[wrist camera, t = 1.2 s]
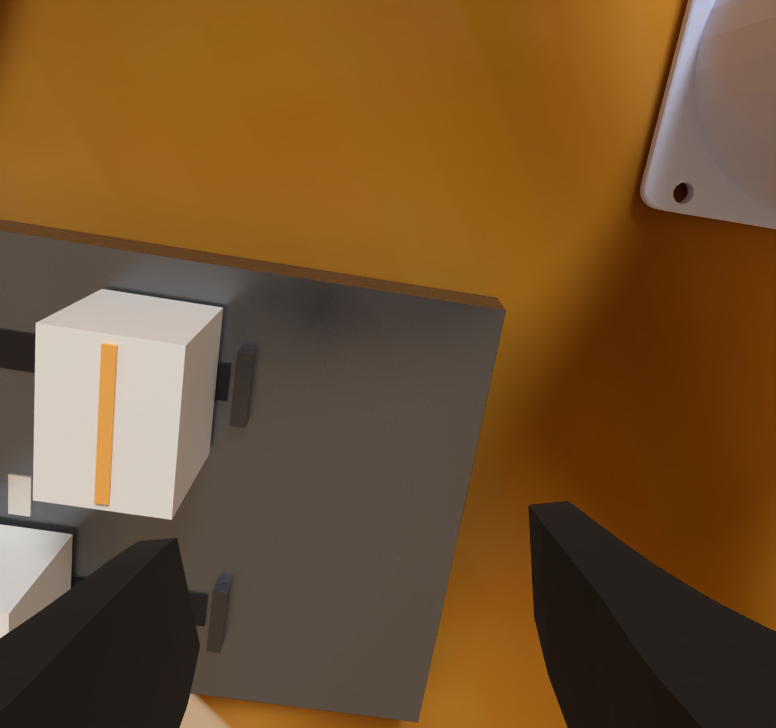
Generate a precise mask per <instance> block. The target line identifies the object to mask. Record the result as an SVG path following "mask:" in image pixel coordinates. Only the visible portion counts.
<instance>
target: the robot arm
mask: <svg viewBox="0 0 776 728" xmlns="http://www.w3.org/2000/svg"><path fill="white" fill-rule="evenodd" d="M680 183H685V184H686V186H687V188H688V194H687V196H686V198H685V199H684V200H682V201H681V202H676V201H675V199H674V197H673V191H674V189H675V187H676V186H677V185H679V184H680ZM640 195H641V198H642V201H643V202H644V203H645V204H646V205H647V206H649V207H651V208H654V209H658V210H663V211H669V212H675V213H681V214H687V215H693V216H699V217H705V218H711V219H718V220H724V221H730V222H736V223H742V224H748V225H754V226H760V227H766V228H772V229H776V0H688V3H687V7H686V11H685V14H684V18H683V22H682V26H681V30H680V34H679V38H678V42H677V46H676V50H675V53H674V57H673V61H672V65H671V69H670V73H669V77H668V81H667V85H666V89H665V93H664V96H663V100H662V104H661V108H660V112H659V116H658V120H657V124H656V128H655V132H654V135H653V139H652V143H651V147H650V151H649V155H648V159H647V163H646V167H645V171H644V175H643V178H642V182H641V187H640ZM529 524H530V544H531V563H532V583H533V603H534V618H535V622H536V626H537V631H538V635H539V639H540V643H541V648H542V652H543V656H544V660H545V664H546V668H547V672H548V675H549V678H550V681H551V684H552V686H553V689H554V692H555V695H556V697H557V700H558V703H559V705H560V708H561V711H562V713H563V716H564V719H565V721H566V724H567V727H568V728H776V631H773V630H771V629H769V628H767V627H765V626H763V625H761V624H759V623H757V622H755V621H753V620H751V619H749V618H747V617H745V616H743V615H741V614H739V613H737V612H735V611H733V610H731V609H729V608H727V607H725V606H723V605H721V604H719V603H718V602H716V601H714V600H712V599H710V598H709V597H707V596H705V595H703V594H702V593H700V592H698V591H697V590H695V589H693V588H692V587H690V586H688V585H687V584H685V583H683V582H682V581H680V580H679V579H677V578H675V577H674V576H672V575H670V574H669V573H667V572H666V571H664V570H663V569H661V568H660V567H658V566H656V565H655V564H653V563H652V562H650V561H649V560H647V559H646V558H645V557H643V556H642V555H640V554H639V553H637V552H636V551H635V550H633V549H632V548H630V547H629V546H627V545H626V544H625V543H623V542H622V541H621V540H619V539H618V538H616V537H615V536H614V535H612V534H611V533H610V532H608V531H607V530H606V529H604V528H603V527H602V526H600V525H599V524H598V523H596V522H595V521H594V520H592V519H591V518H590V517H589V516H587V515H586V514H585V513H583V512H582V511H581V510H579V509H578V508H577V507H575V506H574V505H573V504H571V503H570V502H568V501H565V502H554V503H543V504H533V505H529ZM199 650H200V642H199V638H198V633H197V628H196V623H195V619H194V614H193V609H192V605H191V600H190V595H189V591H188V586H187V581H186V577H185V572H184V567H183V563H182V558H181V553H180V549H179V544H178V539H177V538H166V539H155V540H145V541H139V542H137V543H135V544H133V545H132V546H130V547H128V548H127V549H125V550H124V551H122V552H121V553H119V554H118V555H116V556H115V557H114V558H112V559H111V560H109V561H108V562H106V563H105V564H104V565H102V566H101V567H100V568H98V569H97V570H96V571H94V572H93V573H91V574H90V575H89V576H87V577H86V578H85V579H83V580H82V581H81V582H79V583H78V584H76V585H75V586H74V587H72V588H71V589H70V590H68V591H67V592H66V593H64V594H63V595H61V596H60V597H59V598H57V599H56V600H55V601H53V602H52V603H50V604H49V605H48V606H46V607H45V608H44V609H42V610H41V611H39V612H38V613H37V614H35V615H34V616H32V617H31V618H29V619H28V620H26V621H25V622H23V623H22V624H20V625H19V626H17V627H16V628H15V629H13V630H12V631H10V632H9V633H7V634H6V635H4V636H3V637H1V638H0V728H179V727H180V725H181V721H182V719H183V716H184V713H185V710H186V707H187V704H188V700H189V696H190V691H191V687H192V683H193V679H194V674H195V669H196V664H197V660H198V655H199Z"/></svg>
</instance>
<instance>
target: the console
mask: <svg viewBox="0 0 776 728" xmlns="http://www.w3.org/2000/svg"><path fill="white" fill-rule="evenodd" d="M101 289H106V290H112V291H119V292H125V293H131V294H138V295H144V296H151V297H157V298H164V299H170V300H177V301H183V302H190V303H196V304H203V305H209V306H216V307H222V308H223V315H222V326H221V336H220V347H219V357H218V368H217V379H216V389H215V400H214V410H213V421H212V431H211V442H210V452H209V455H208V457H207V459H206V460H205V462H204V464H203V466H202V467H201V469H200V471H199V473H198V474H197V476H196V478H195V480H194V482H193V483H192V485H191V487H190V489H189V490H188V492H187V494H186V496H185V497H184V499H183V501H182V503H181V504H180V506H179V508H178V510H177V511H176V513H175V515H174V517H173V518H172V520H169V519H162V518H155V517H148V516H141V515H134V514H126V513H119V512H112V511H105V510H98V509H91V508H83V507H76V506H69V505H62V504H55V503H48V502H40V501H33V458H34V397H35V336H36V323H37V322H38V321H40V320H42V319H44V318H46V317H48V316H50V315H52V314H54V313H56V312H58V311H60V310H62V309H64V308H66V307H68V306H70V305H72V304H73V303H75V302H77V301H79V300H81V299H83V298H85V297H87V296H89V295H91V294H93V293H95V292H97V291H99V290H101ZM505 312H506V310H505V309H504V307H503V306H502V304H501V303H500V302H499V300H498V299H497V298H493V297H487V296H480V295H474V294H468V293H461V292H455V291H449V290H442V289H436V288H430V287H423V286H417V285H411V284H404V283H398V282H392V281H385V280H379V279H373V278H367V277H360V276H354V275H348V274H341V273H335V272H329V271H322V270H316V269H310V268H303V267H297V266H291V265H284V264H278V263H272V262H265V261H259V260H253V259H246V258H240V257H234V256H227V255H221V254H215V253H208V252H202V251H196V250H189V249H183V248H177V247H170V246H164V245H158V244H151V243H145V242H139V241H132V240H126V239H120V238H113V237H107V236H101V235H95V234H88V233H82V232H76V231H69V230H63V229H57V228H50V227H44V226H38V225H31V224H25V223H19V222H12V221H6V220H0V524H2V525H9V526H16V527H23V528H31V529H38V530H45V531H52V532H60V533H67V534H73V539H72V567H71V588H72V587H74V586H75V585H76V584H78V583H79V582H81V581H82V580H83V579H85V578H86V577H87V576H89V575H90V574H91V573H93V572H94V571H96V570H97V569H98V568H100V567H101V566H102V565H104V564H105V563H106V562H108V561H109V560H111V559H112V558H114V557H115V556H116V555H118V554H119V553H121V552H122V551H124V550H125V549H127V548H128V547H130V546H132V545H133V544H135V543H137V542H139V541H145V540H155V539H166V538H177V539H178V544H179V549H180V553H181V558H182V563H183V567H184V572H185V577H186V581H187V586H188V591H189V595H190V600H191V605H192V609H193V614H194V619H195V623H196V628H197V633H198V638H199V642H200V650H199V655H198V660H197V664H196V669H195V674H194V679H193V683H192V687H191V691H190V693H192V694H200V695H208V696H216V697H224V698H231V699H239V700H247V701H255V702H263V703H270V704H278V705H286V706H294V707H302V708H310V709H317V710H325V711H333V712H341V713H349V714H356V715H364V716H372V717H380V718H388V719H395V720H403V721H411V722H418V720H419V715H420V711H421V706H422V701H423V697H424V692H425V687H426V683H427V678H428V673H429V669H430V664H431V659H432V654H433V650H434V645H435V640H436V636H437V631H438V626H439V622H440V617H441V612H442V607H443V603H444V598H445V593H446V589H447V584H448V579H449V575H450V570H451V565H452V561H453V556H454V551H455V546H456V542H457V537H458V532H459V528H460V523H461V518H462V514H463V509H464V504H465V500H466V495H467V490H468V485H469V481H470V476H471V471H472V467H473V462H474V457H475V453H476V448H477V443H478V438H479V434H480V429H481V424H482V420H483V415H484V410H485V406H486V401H487V396H488V392H489V387H490V382H491V377H492V373H493V368H494V363H495V359H496V354H497V349H498V345H499V340H500V335H501V331H502V326H503V321H504V316H505Z"/></svg>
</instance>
